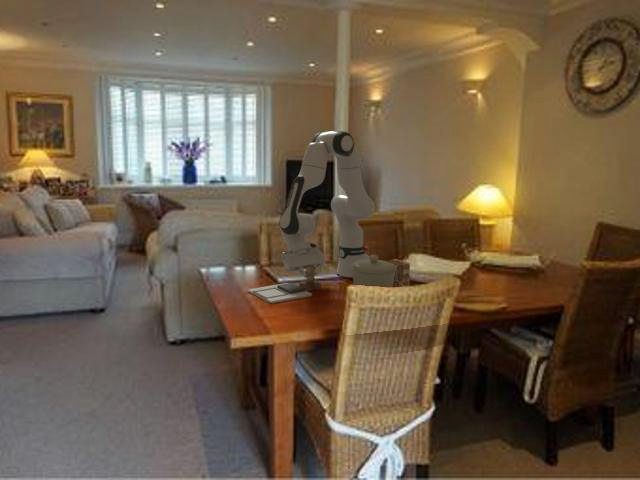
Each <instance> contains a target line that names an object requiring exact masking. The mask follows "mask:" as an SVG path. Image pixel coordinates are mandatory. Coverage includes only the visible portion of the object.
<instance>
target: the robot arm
mask: <svg viewBox="0 0 640 480" xmlns="http://www.w3.org/2000/svg"><path fill="white" fill-rule="evenodd" d="M330 156H334V157H335V158H336V168H337V181H338V185H339V187H340V188H341V189H342V190H343V192H344V194H343V193H341V194H336V195H334V197H333V198H332V199H331V202H330V208H331V210H332V212H333V214H334V215H335V217H336V219H337V222H338V226H339V246H338V254H339V255H338V257H339V258H338V265H337V269H336V272H337V273H338V274H339V275H340V277H345V278H353V271H352V268H351V265H352V264H354V263H355V262H357V261H361V260H370V256H369V255H368V254H367V253H366V251H367V252H369V250H370V247H369V246H364V245H363V244H364V230H363V228H362V227H361V226H360V224H359V222H358V220H369V219H370V218H372V217H373V216H374V214H375V211H376V205H375V202H374V200H372V199H371V198H370V197H369V194H368V193H367V190H366V189H365V186H364V184H363V179H362V178H363V177H362V171H361V170H362V169H361V168H362V167H361V161H360V155H359V150H358V147H357V145H356V144H355V141H354V138H353V136H352V135H351V134H350V133H349V132H347V131H344V130H329V131H319V132H317V133H315V134H314V137H313V138H312V142H310V143H309V144H308V145H307V147H306V149H305V152H304V156H303V158H302V163H301V167H300V170H299V172H298V173H299V174H298V175H297V176H296V177H295V178H294V180H293V182H292V185H291V187H290V190H289V193H288V196H287V199H286V203H285V205H284V209H283V211H282V214H281V215H280V218H279V220H278V221H279V222H278V224H279V229H280V233H281V236H282V240H283V241H284V243H285V244H286V247H287V249H288V251H283V252H282V253H281V255H280V257H281V259H282V261H283V265H284V269H285V270H286V271H287V272H294V271H298V272H299V273H300V274H301V275H302V276H303V277H304V278H306V277H308V273H307V272H306V271H305V270H306V266H315V274H314V277H315V276H317V275H318V274H319V272H318V271H317V270H318V268H320V267H323V266H325V264H326V262H327V261H326V257H325V256H324V254H323V252H322V251H321V249H319V245H318V244H317V243H312V242H308V241H306V238H308V237H310V236H311V235H312V234H313V233H315V232H316V229H317V224H318V223H317V219H316V218H315V216H314V215H313V214H309V213H301V212H299V207H300V205H301V203H302V198H303V195H304V193H305V192H306V191H308V190H310V189H313V188H316V187H318V186H320V185H321V184H323V182H324V180H325V177H326V171H327V165H328V160H329V157H330ZM339 275H338V276H339Z"/></svg>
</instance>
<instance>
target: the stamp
mask: <svg viewBox="0 0 640 480" xmlns="http://www.w3.org/2000/svg"><path fill="white" fill-rule="evenodd" d="M305 270H306V271H305V272H307V273H308V277H305V278H306V279H305V280H304V281H299V283H298V284H299V285H298V286H300V287H302V288H305V291H307V292H311V291H318V290H322V283H321V282H319V281H317V280H315V276H314V274H315V266H306V269H305Z"/></svg>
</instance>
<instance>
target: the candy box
mask: <svg viewBox="0 0 640 480" xmlns="http://www.w3.org/2000/svg"><path fill="white" fill-rule="evenodd" d="M389 262H390V263H392V264H393V265H395V266H396V267H397V270H396V271H395V275H394V281H393V287H402V286H409V287H410V276H411V275H410V274H411V273H410V272H411V267H410V266H411V262H408V261H405V260H402V259H398V258H395V259H394V258H393V259H390V260H389Z"/></svg>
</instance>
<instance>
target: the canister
mask: <svg viewBox="0 0 640 480" xmlns="http://www.w3.org/2000/svg"><path fill="white" fill-rule="evenodd" d="M369 257H370V260H361V261H357V262H355V263H354V264H352V265H351V268H352V271H353V277H352V280H353V281H352V282H353V286H354V285H365V286H380V287H393V281H394V275H395V271H396V270H397V267H396V266H395V265H393V264H392V263H390V261H386V260H382V259H379V256H378V255H376V254H371V255H370V256H369Z"/></svg>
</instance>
